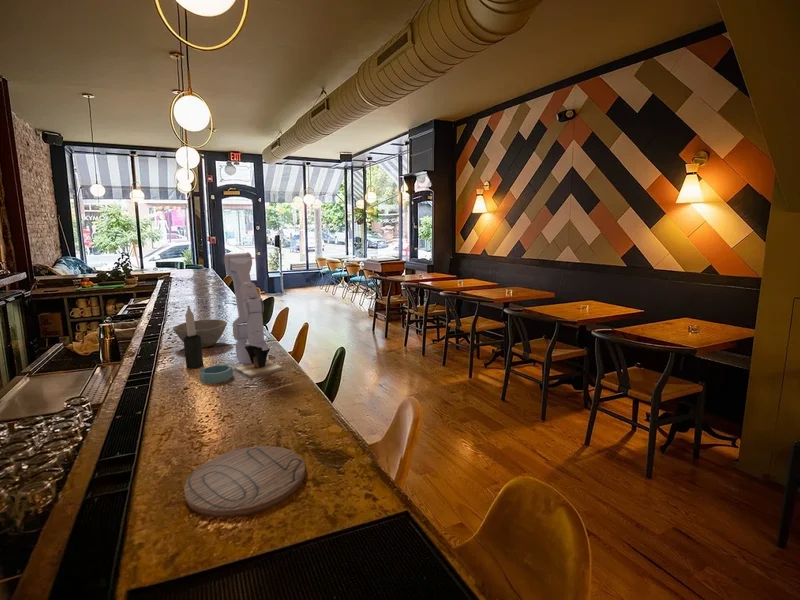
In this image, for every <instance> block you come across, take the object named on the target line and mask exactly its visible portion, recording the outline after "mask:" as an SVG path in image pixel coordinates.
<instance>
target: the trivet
mask: <svg viewBox="0 0 800 600" xmlns="http://www.w3.org/2000/svg"><path fill="white" fill-rule="evenodd" d="M305 467H306V466H305V461H304V460H303V458H302V456H301V455H300V454H298V453H297V452H296V451H294V450H291V449H288V448H287V447H286V448H285V447H280V446H274V445H258V446H249V447H243V448H239V449H235V450H232V451H228V452H225V453H223V454H219V455H218V456H216V457H214V458H211V459H209V460H208V461H206V462H204V463H203V464H201V465H200V466H199V467H198V468H195V470H193V471H192V473H191V474H190V475H188V476H189V477H187V479H186V481H185V484H184V486H183V489H184V499H185V503H186V505H188V507H189V508H190V509H191V510H192V511H194V512H196V513H198V514H200V515H202V516H207V517H212V518H236V517H237V518H238V517H243V516H244V517H245V516H249V515H252V514H255V513H260V512H263V511H266V510H269V509H271V508H272V507H274V506H276V505H278V504H281V503H283V502H284V501H285V500H287V499H288V498H289V497H291V496H292V495H294V494H295V493H296V492H297V491H298V489H299V488H301V486H302V485H303V483H304V479H305V477H306V469H305Z"/></svg>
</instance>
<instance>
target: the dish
mask: <svg viewBox="0 0 800 600" xmlns="http://www.w3.org/2000/svg"><path fill="white" fill-rule="evenodd" d="M233 372H234V371H233V367H232V366H231V365H229V364H215V365H211V366H207V367H204V368H202V369H201V370H199V376H200V382H202V383H204V384H218V383H219V384H220V383H224V382H227V381H229V380H230V379H232V378H233V377H234V373H233Z"/></svg>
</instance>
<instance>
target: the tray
mask: <svg viewBox="0 0 800 600" xmlns="http://www.w3.org/2000/svg"><path fill="white" fill-rule="evenodd" d="M282 368H283V369H282V370H278V371H275V372H271V373H267V374H263V375H259V376H256V377H252V378H249V377H247V376H245V375H243V374H242V373H240V372H238V371H236V370H235V368H232V370H233V372H234V373H236V374H237V375H239V376H241V377H243V378H245V379H246V380H251V379H255V378H259V377H264V376H267V375H270V374H271V375H272V374H275V373H278V372H281V371H282V372H283V371H286V370H287V369H286V368H284V367H282Z"/></svg>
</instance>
